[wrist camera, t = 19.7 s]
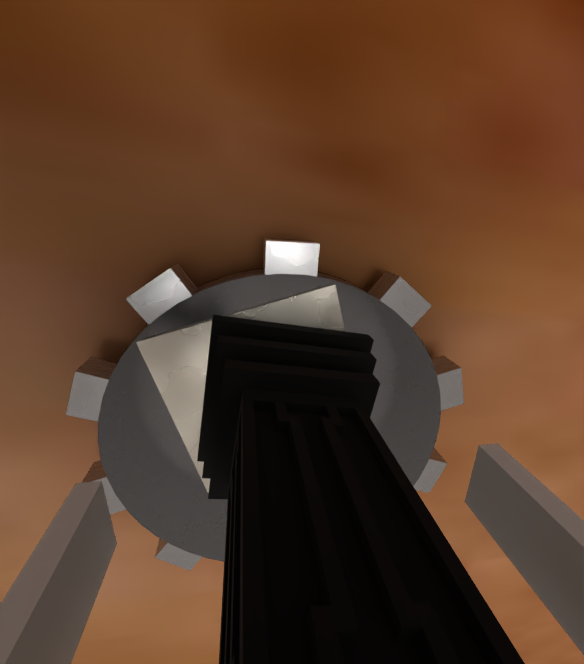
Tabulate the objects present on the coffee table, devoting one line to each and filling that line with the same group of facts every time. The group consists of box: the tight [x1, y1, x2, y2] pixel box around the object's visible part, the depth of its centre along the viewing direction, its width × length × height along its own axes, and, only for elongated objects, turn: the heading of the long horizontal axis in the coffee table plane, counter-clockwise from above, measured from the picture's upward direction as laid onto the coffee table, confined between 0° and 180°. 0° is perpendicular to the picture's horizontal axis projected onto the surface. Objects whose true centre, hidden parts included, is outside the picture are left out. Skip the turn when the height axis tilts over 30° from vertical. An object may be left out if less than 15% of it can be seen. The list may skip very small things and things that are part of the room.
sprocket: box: [66, 238, 464, 571], centre depth 15 cm, size 23×23×12 cm
